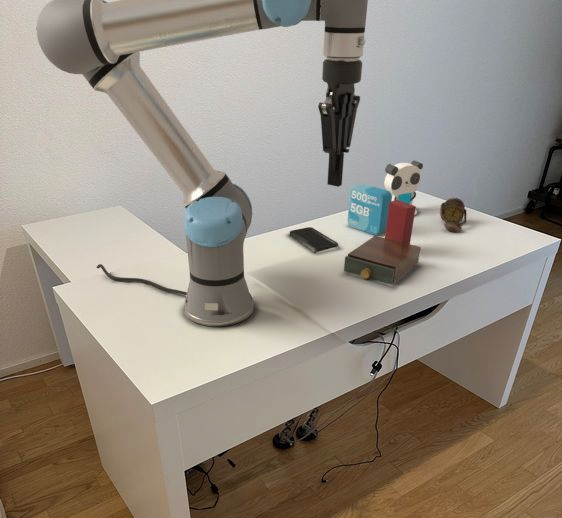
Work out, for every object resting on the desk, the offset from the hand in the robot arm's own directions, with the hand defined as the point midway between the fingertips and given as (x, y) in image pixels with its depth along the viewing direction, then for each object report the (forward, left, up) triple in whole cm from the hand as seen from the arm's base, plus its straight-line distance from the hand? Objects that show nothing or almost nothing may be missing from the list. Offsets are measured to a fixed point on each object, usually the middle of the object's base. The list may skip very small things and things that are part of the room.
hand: (334, 184), depth 116 cm
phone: (-18, +22, -24) cm, 37 cm away
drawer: (+7, +15, -24) cm, 29 cm away
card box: (+4, +30, -24) cm, 39 cm away
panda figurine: (-9, +60, -25) cm, 65 cm away
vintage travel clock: (+9, +58, -25) cm, 64 cm away
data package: (-10, +40, -25) cm, 48 cm away
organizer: (+6, +16, -24) cm, 30 cm away
